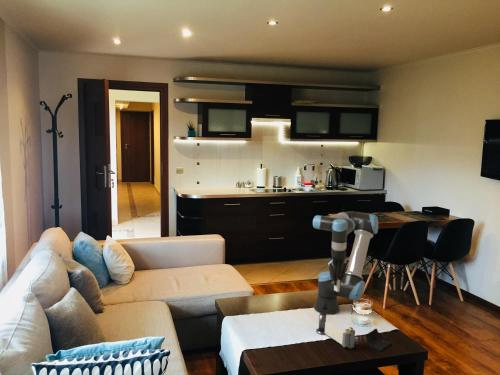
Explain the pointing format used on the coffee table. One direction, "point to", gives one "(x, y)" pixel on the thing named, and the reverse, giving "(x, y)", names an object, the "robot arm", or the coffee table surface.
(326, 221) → the robot arm
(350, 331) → the stile post
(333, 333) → the gate
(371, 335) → the black angled block
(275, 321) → the coffee table surface
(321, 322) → the hinge post
